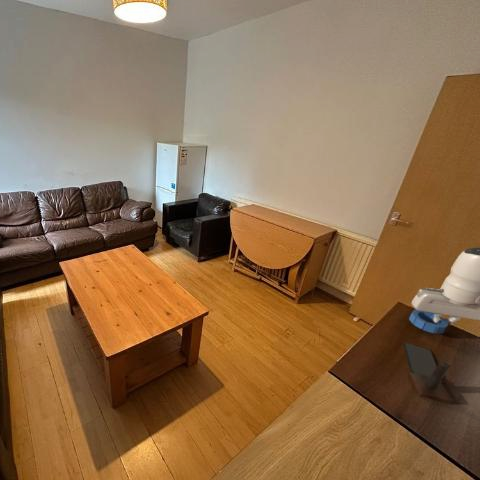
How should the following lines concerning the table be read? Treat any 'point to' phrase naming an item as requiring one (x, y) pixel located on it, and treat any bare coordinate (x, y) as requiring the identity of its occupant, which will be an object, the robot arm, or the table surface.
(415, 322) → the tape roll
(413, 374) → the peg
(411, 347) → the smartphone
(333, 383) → the table surface
